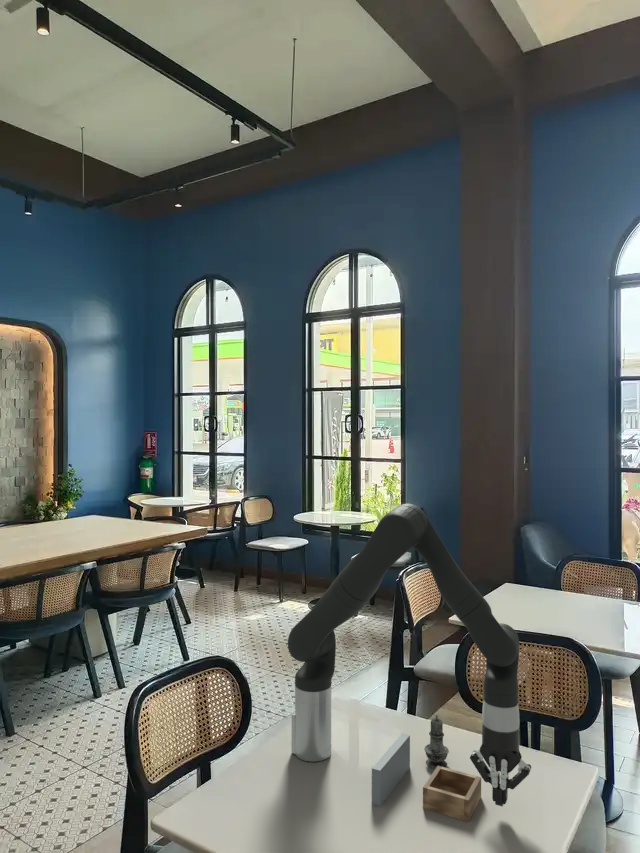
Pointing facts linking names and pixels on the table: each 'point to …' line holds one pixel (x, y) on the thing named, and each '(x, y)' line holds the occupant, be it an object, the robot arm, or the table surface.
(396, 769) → the backstop board
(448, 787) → the socket block
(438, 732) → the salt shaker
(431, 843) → the table surface
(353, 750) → the table surface
